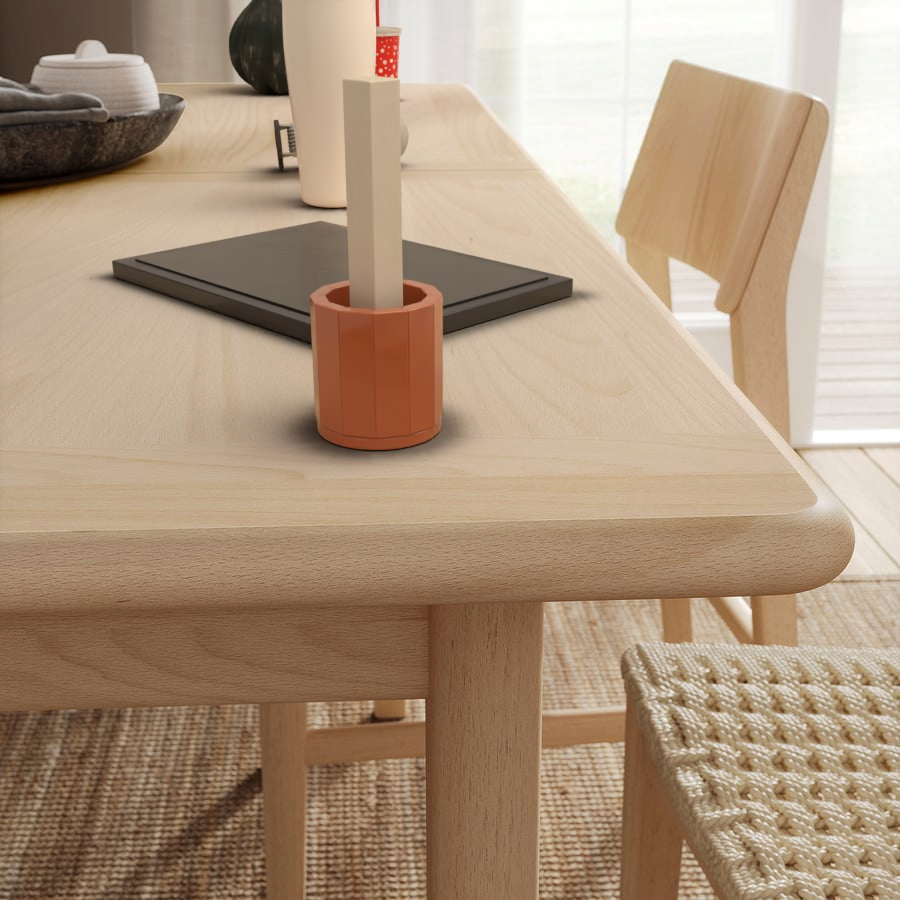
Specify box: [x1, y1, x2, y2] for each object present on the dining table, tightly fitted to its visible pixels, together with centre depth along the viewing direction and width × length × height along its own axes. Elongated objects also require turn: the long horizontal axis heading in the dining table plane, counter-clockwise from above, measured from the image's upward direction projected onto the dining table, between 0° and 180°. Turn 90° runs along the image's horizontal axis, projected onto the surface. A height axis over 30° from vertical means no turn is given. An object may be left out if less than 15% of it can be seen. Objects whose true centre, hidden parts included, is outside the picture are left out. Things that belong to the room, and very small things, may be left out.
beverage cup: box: [374, 0, 403, 79], centre depth 151 cm, size 6×6×14 cm
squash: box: [228, 0, 289, 95], centre depth 162 cm, size 14×15×15 cm
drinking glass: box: [282, 0, 376, 209], centre depth 87 cm, size 7×7×15 cm
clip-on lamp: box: [273, 116, 409, 170], centre depth 106 cm, size 12×6×18 cm
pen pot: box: [310, 280, 444, 451], centre depth 46 cm, size 5×5×6 cm
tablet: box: [111, 220, 574, 344], centre depth 67 cm, size 22×16×1 cm
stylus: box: [343, 76, 403, 309], centre depth 45 cm, size 2×2×13 cm
